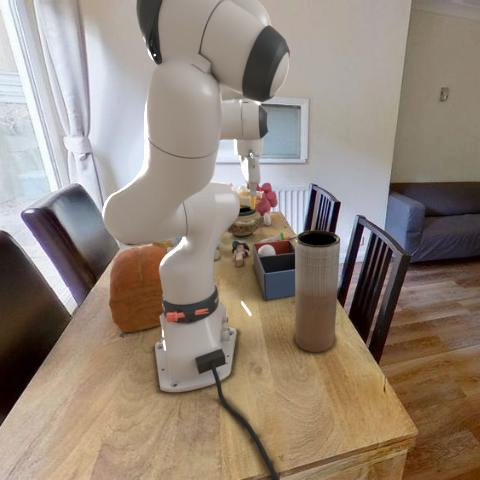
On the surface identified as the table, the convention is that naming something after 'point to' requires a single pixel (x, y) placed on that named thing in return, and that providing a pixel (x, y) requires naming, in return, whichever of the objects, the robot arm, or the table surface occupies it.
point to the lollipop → (266, 251)
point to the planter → (316, 289)
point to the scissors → (290, 237)
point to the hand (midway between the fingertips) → (251, 192)
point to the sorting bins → (276, 269)
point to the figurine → (167, 243)
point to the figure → (247, 196)
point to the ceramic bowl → (245, 223)
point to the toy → (266, 202)
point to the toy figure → (240, 251)
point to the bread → (137, 288)
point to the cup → (273, 238)
